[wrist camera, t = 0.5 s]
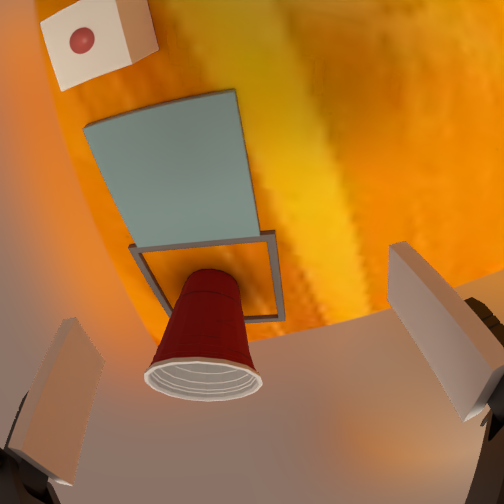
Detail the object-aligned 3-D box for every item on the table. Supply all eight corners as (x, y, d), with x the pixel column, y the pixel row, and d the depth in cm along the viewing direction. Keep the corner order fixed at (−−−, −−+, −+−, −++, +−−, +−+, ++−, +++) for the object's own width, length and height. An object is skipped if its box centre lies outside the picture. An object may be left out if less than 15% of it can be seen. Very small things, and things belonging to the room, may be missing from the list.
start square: (129, 244, 30) (128, 248, 29) (274, 230, 28) (274, 234, 28) (175, 322, 40) (174, 325, 40) (285, 317, 38) (285, 320, 38)
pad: (87, 124, 20) (82, 128, 20) (235, 88, 19) (234, 92, 18) (139, 242, 30) (137, 247, 29) (260, 229, 28) (260, 235, 27)
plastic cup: (259, 315, 38) (257, 408, 30) (173, 308, 38) (156, 398, 29) (268, 254, 30) (269, 371, 22) (159, 247, 30) (129, 357, 22)
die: (80, 13, 14) (38, 23, 10) (144, -13, 13) (110, -15, 10) (97, 70, 17) (59, 92, 14) (159, 50, 17) (131, 64, 13)
